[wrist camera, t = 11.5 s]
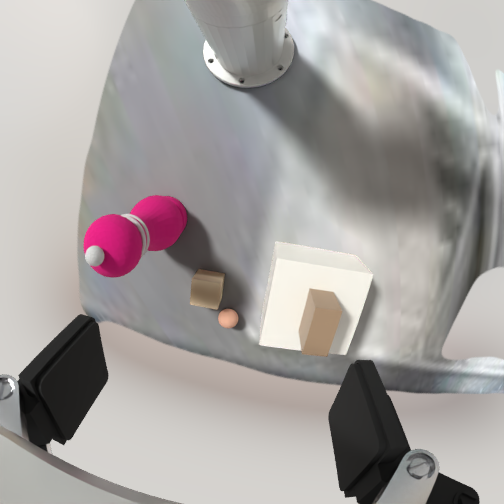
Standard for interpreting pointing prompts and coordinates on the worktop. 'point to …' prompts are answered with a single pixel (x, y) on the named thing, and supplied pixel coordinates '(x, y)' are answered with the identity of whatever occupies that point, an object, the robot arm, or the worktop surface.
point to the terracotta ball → (228, 318)
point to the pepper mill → (133, 235)
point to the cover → (313, 299)
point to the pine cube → (207, 289)
